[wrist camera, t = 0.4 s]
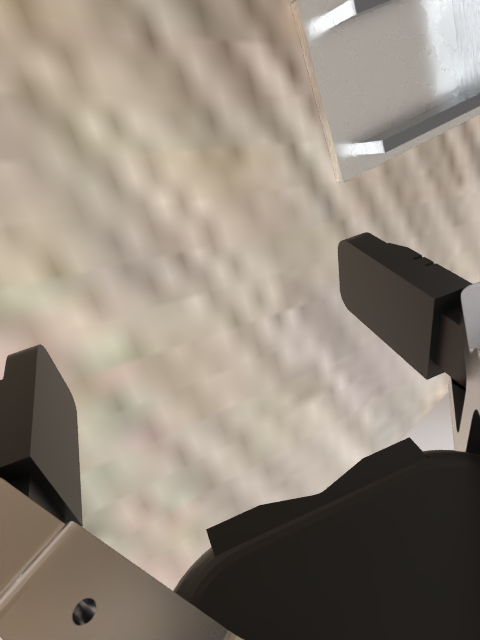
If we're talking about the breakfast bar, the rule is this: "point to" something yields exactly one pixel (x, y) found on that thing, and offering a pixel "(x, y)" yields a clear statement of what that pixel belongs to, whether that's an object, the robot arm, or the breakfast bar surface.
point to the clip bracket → (389, 73)
